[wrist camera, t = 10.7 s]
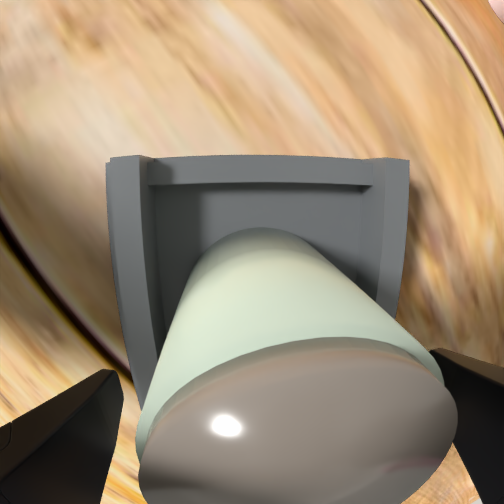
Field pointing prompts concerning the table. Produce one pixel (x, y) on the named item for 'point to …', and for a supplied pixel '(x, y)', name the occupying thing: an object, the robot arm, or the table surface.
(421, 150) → the table surface
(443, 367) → the robot arm
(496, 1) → the smoothie
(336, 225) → the grey rectangular tray
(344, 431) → the jar
